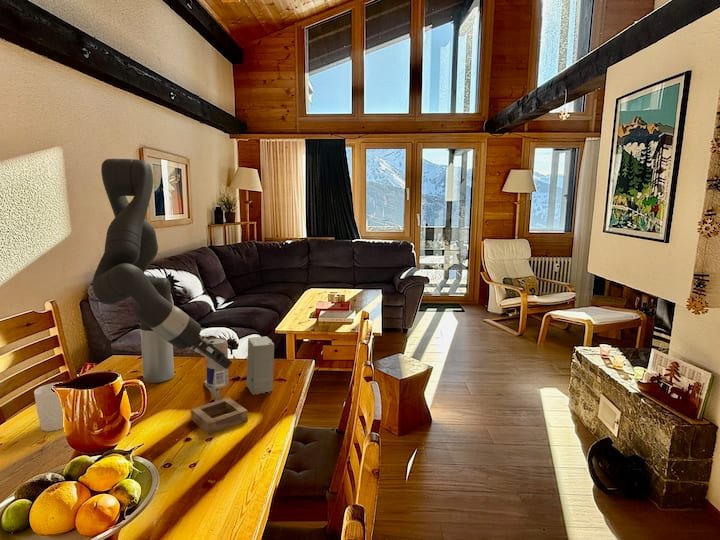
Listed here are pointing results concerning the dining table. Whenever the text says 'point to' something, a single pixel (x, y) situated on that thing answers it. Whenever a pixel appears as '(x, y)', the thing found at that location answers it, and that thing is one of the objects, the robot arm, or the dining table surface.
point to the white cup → (48, 408)
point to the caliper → (214, 392)
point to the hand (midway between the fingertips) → (223, 362)
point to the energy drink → (217, 366)
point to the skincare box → (260, 365)
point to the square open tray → (223, 422)
